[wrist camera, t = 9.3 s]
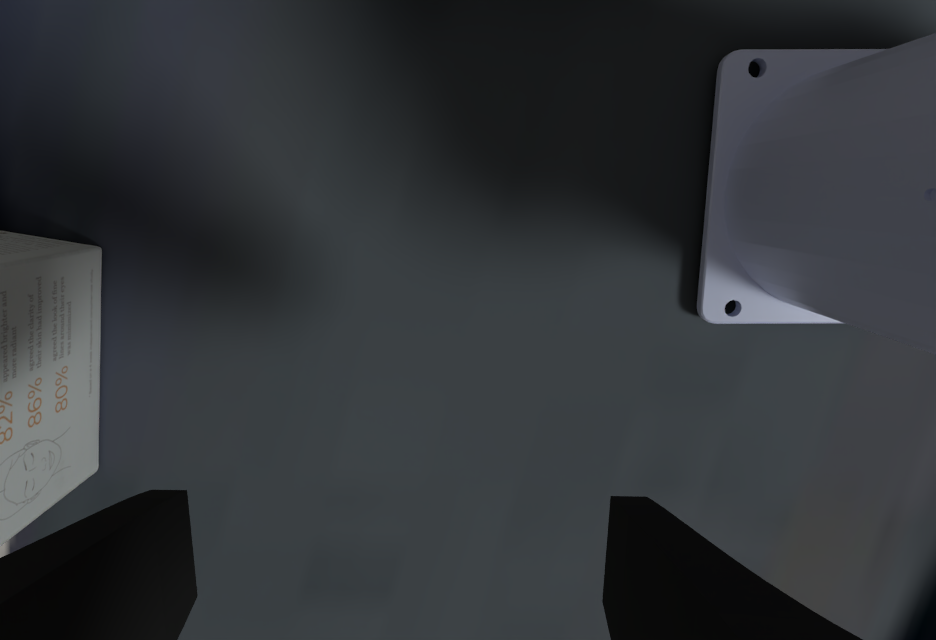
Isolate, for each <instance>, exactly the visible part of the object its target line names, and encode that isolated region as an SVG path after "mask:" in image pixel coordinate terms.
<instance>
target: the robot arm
mask: <svg viewBox="0 0 936 640" xmlns="http://www.w3.org/2000/svg"><path fill="white" fill-rule="evenodd" d="M751 61H754V62H756V63H757V64H758V65H759V68H760V72H759V75H758V76H757V77H756V78H755V77H752V76H751V75H750V74H749V71H748V67H749V64H750V62H751ZM732 300H734V301H735V304H736V307H735V310H734V311H733V312H732V313H729V314H726V313H725V309H724V308H725V306H726V304H727V303H728V302H729V301H732ZM697 312H698V314H699V316H700V317H701V318H702V319H704V320H705V321H707V322H709V323H714V324H797V323H846V324H849V325H852V326H855V327H857V328H860V329H863V330H866V331H869V332H872V333H875V334H878V335H881V336H883V337H886V338H889V339H892V340H895V341H898V342H901V343H904V344H907V345H909V346H912V347H915V348H918V349H921V350H924V351H927V352H930V353H932V354H935V355H936V33H934V34H931V35H928V36H925V37H922V38H919V39H916V40H913V41H910V42H907V43H904V44H902V45H899V46H896V47H893V48H890V49H741V50H736V51H733V52H731V53H729V54H728V55H726V56H725V57H723V59H722V60H721V62H720V63H719V66H718V70H717V79H716V90H715V102H714V113H713V125H712V136H711V148H710V159H709V171H708V182H707V194H706V205H705V217H704V228H703V240H702V251H701V263H700V274H699V286H698V297H697ZM196 598H197V586H196V576H195V566H194V556H193V546H192V536H191V526H190V516H189V506H188V496H187V490H149V491H146V492H144V493H141V494H138V495H135V496H133V497H130V498H128V499H126V500H123V501H121V502H119V503H116V504H114V505H112V506H110V507H108V508H105V509H103V510H101V511H99V512H97V513H95V514H93V515H90V516H88V517H86V518H84V519H82V520H80V521H78V522H76V523H74V524H71V525H69V526H67V527H65V528H63V529H61V530H59V531H57V532H55V533H53V534H50V535H48V536H46V537H44V538H42V539H40V540H38V541H36V542H34V543H32V544H29V545H27V546H25V547H23V548H21V549H19V550H17V551H15V552H13V553H10V554H8V555H6V556H4V557H1V558H0V640H177V639H178V637H179V635H180V633H181V631H182V629H183V627H184V624H185V622H186V620H187V618H188V616H189V613H190V611H191V609H192V607H193V605H194V602H195V600H196ZM603 606H604V610H605V615H606V619H607V624H608V628H609V633H610V637H611V640H862V639H860V638H859V637H857V636H855V635H853V634H852V633H850V632H848V631H846V630H844V629H843V628H841V627H839V626H837V625H835V624H834V623H832V622H830V621H829V620H827V619H825V618H824V617H822V616H820V615H818V614H817V613H815V612H813V611H812V610H810V609H809V608H807V607H805V606H804V605H802V604H801V603H799V602H798V601H796V600H794V599H793V598H791V597H790V596H788V595H787V594H785V593H784V592H782V591H780V590H779V589H777V588H776V587H774V586H773V585H771V584H770V583H768V582H766V581H765V580H763V579H762V578H761V577H759V576H758V575H756V574H755V573H753V572H752V571H750V570H749V569H747V568H746V567H744V566H743V565H742V564H740V563H739V562H737V561H736V560H734V559H733V558H732V557H730V556H729V555H727V554H726V553H725V552H723V551H722V550H720V549H719V548H718V547H716V546H715V545H714V544H712V543H711V542H709V541H708V540H707V539H705V538H704V537H703V536H701V535H700V534H699V533H697V532H696V531H694V530H693V529H692V528H690V527H689V526H688V525H686V524H685V523H684V522H682V521H681V520H680V519H678V518H677V517H676V516H674V515H673V514H671V513H670V512H669V511H667V510H666V509H664V508H663V507H662V506H660V505H659V504H657V503H656V502H654V501H653V500H651V499H649V498H648V497H628V496H611V499H610V512H609V525H608V537H607V550H606V563H605V575H604V588H603Z"/></svg>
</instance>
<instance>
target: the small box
mask: <svg viewBox="0 0 936 640" xmlns="http://www.w3.org/2000/svg"><path fill="white" fill-rule="evenodd" d="M101 266H102V249H101V248H100V247H98V246H93V245H86V244H80V243H74V242H68V241H62V240H56V239H50V238H44V237H37V236H31V235H25V234H19V233H13V232H7V231H1V230H0V546H1V545H3V544H4V543H5V542H7V541H8V540H9V539H10V538H12V537H13V536H14V535H15V534H17V533H18V532H19V531H21V530H22V529H23V528H24V527H26V526H27V525H28V524H30V523H31V522H32V521H33V520H35V519H36V518H37V517H39V516H40V515H41V514H42V513H44V512H45V511H46V510H48V509H49V508H50V507H51V506H53V505H54V504H55V503H56V502H58V501H59V500H60V499H62V498H63V497H64V496H65V495H67V494H68V493H69V492H71V491H72V490H73V489H75V488H76V487H77V486H78V485H80V484H81V483H82V482H84V481H85V480H86V479H87V478H89V477H90V476H91V475H93V474H94V473H95V472H96V471H97V470H98V467H99V397H100V340H101Z"/></svg>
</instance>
